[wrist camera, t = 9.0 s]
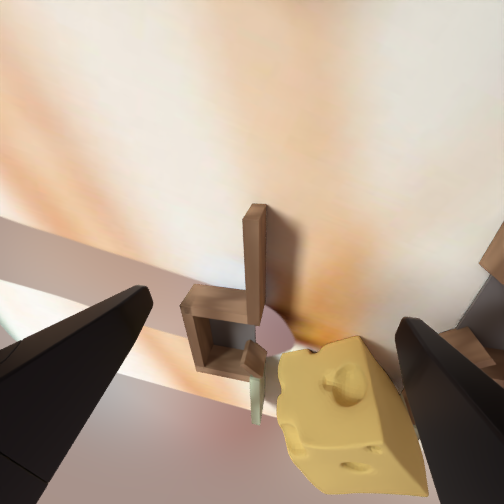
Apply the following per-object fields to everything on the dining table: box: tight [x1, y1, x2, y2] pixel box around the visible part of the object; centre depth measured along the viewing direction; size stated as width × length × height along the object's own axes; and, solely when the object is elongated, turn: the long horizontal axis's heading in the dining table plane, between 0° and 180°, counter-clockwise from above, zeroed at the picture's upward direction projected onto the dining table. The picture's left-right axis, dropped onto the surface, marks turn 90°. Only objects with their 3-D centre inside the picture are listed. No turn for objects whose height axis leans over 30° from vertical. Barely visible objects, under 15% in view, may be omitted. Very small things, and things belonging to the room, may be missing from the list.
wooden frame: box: [180, 204, 504, 440], centre depth 24 cm, size 33×31×4 cm
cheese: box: [277, 336, 429, 497], centre depth 24 cm, size 10×11×10 cm
